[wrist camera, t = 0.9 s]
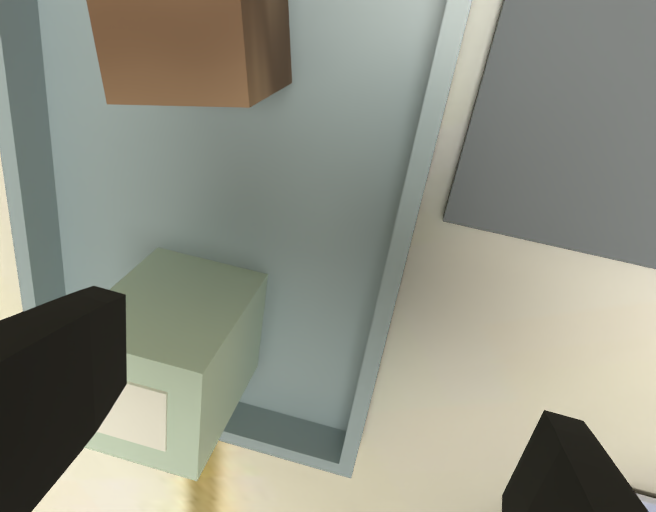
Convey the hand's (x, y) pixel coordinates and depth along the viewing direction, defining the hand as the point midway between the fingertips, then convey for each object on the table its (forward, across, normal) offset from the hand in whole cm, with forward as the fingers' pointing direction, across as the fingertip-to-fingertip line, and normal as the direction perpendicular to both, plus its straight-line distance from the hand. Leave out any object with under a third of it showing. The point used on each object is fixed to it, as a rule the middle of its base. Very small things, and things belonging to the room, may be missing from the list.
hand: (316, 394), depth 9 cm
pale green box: (+10, +6, +6) cm, 13 cm away
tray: (+10, +6, +1) cm, 12 cm away
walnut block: (+10, +6, -4) cm, 13 cm away
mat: (+10, -6, -4) cm, 13 cm away
